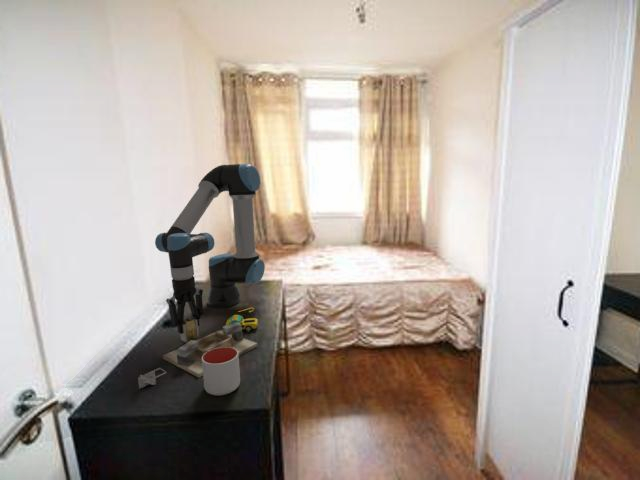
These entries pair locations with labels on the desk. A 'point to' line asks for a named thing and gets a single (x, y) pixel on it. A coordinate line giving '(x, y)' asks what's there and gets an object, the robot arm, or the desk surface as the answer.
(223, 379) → the cup
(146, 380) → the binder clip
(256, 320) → the toy car
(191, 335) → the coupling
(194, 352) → the shaft rig
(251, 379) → the desk surface
